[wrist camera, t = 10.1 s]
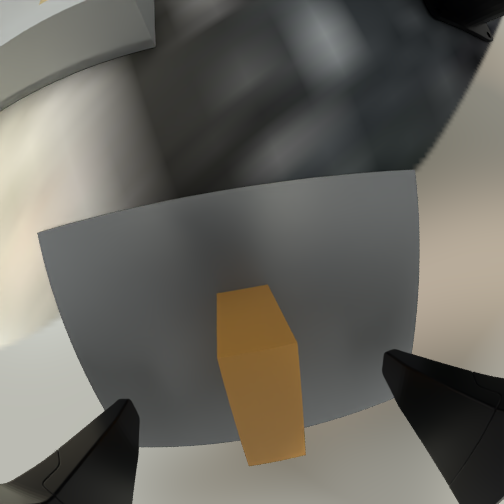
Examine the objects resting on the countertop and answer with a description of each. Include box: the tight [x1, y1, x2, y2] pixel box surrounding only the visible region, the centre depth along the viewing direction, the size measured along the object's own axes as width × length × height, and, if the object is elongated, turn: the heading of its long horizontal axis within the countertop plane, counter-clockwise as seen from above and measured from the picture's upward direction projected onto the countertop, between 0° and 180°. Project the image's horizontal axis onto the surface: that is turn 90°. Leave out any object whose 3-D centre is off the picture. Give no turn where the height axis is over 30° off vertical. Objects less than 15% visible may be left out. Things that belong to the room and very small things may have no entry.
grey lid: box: [37, 170, 419, 466], centre depth 10 cm, size 17×13×6 cm
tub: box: [0, 0, 156, 111], centre depth 5 cm, size 16×12×4 cm
